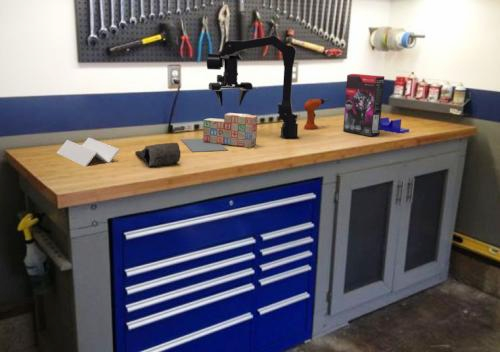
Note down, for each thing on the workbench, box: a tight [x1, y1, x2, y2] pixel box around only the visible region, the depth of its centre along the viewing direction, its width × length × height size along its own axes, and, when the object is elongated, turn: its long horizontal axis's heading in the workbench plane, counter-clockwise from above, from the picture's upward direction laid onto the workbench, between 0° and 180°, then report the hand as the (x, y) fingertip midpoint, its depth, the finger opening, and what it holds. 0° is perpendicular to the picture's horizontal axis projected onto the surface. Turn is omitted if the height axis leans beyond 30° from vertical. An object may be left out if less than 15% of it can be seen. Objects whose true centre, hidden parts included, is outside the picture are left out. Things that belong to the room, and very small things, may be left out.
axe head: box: [135, 142, 181, 168], centre depth 186 cm, size 26×8×15 cm
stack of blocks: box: [203, 112, 258, 148], centre depth 212 cm, size 21×6×12 cm, turn 71°
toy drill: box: [303, 98, 330, 131], centre depth 254 cm, size 5×19×15 cm, turn 135°
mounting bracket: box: [380, 116, 410, 134], centre depth 253 cm, size 18×7×6 cm, turn 41°
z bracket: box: [56, 137, 120, 167], centre depth 185 cm, size 12×25×6 cm
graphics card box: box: [342, 73, 385, 137], centre depth 239 cm, size 17×7×27 cm, turn 41°
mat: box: [180, 138, 229, 153], centre depth 210 cm, size 14×24×1 cm, turn 18°
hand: (230, 105), depth 229 cm, fingers open, 8 cm apart
